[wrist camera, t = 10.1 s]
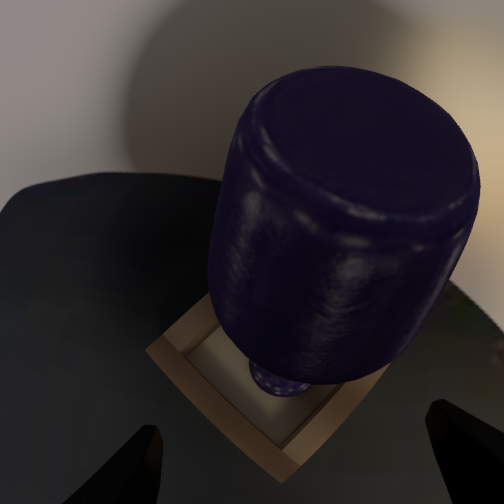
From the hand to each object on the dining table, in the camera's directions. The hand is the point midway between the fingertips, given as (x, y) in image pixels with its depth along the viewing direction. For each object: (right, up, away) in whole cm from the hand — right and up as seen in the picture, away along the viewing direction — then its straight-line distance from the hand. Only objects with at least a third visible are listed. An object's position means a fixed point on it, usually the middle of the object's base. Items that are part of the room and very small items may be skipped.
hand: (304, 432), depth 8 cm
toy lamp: (0, -1, +9) cm, 10 cm away
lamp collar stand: (0, -1, +10) cm, 11 cm away
